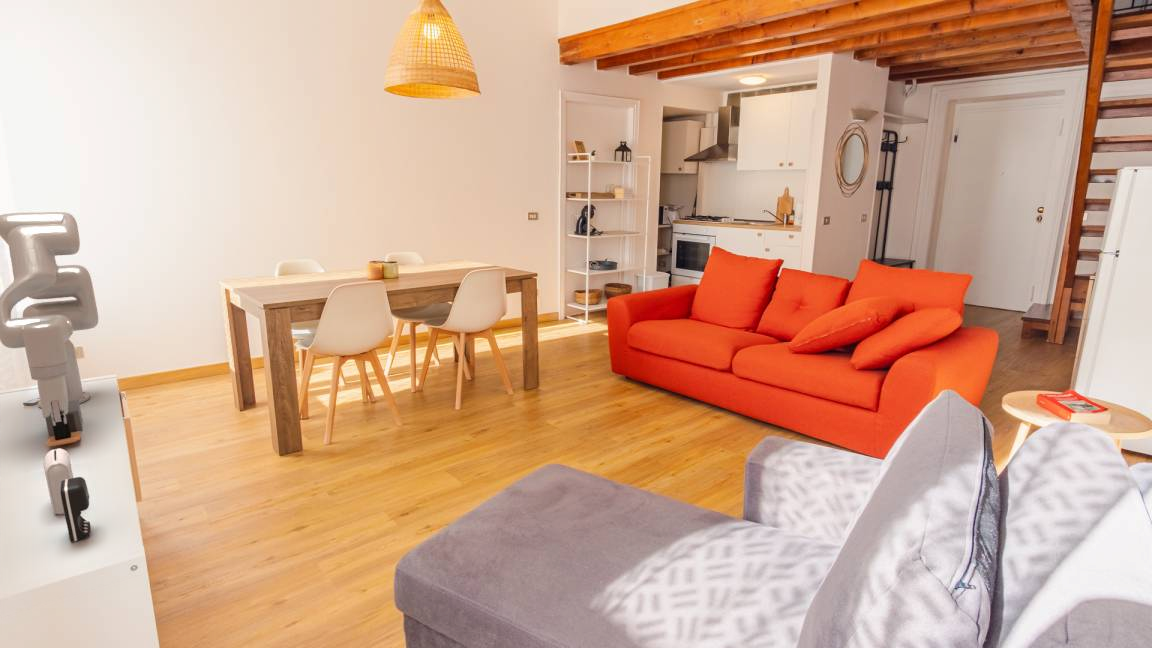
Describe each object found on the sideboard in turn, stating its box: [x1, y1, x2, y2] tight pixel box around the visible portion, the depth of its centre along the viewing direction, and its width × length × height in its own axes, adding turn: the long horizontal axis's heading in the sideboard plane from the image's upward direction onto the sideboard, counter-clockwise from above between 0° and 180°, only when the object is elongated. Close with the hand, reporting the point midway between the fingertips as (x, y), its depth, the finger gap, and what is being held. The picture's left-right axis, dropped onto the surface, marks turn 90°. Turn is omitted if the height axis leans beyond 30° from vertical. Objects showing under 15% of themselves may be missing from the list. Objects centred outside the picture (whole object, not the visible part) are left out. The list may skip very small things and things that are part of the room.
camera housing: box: [44, 400, 83, 438], centre depth 171 cm, size 10×7×8 cm
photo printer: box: [43, 448, 74, 515], centre depth 134 cm, size 10×4×12 cm, turn 39°
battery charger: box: [60, 476, 91, 543], centre depth 124 cm, size 7×4×11 cm, turn 37°
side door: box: [45, 431, 82, 448], centre depth 163 cm, size 1×7×12 cm
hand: (63, 437), depth 160 cm, fingers closed
